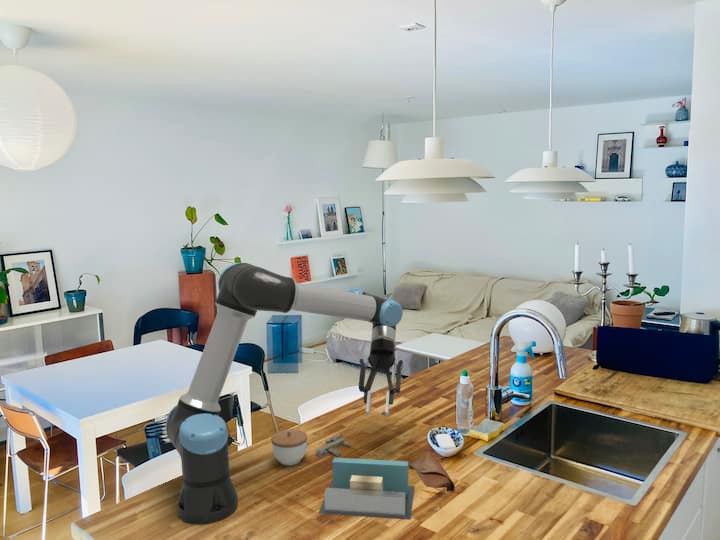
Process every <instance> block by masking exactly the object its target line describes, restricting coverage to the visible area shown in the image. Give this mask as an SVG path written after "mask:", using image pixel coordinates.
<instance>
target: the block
mask: <svg viewBox="0 0 720 540" xmlns="http://www.w3.org/2000/svg"><path fill="white" fill-rule="evenodd" d="M350 489H357V490H373V491H383V477H375V476H357V475H352V476H351V479H350Z"/></svg>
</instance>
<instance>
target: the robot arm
mask: <svg viewBox="0 0 720 540" xmlns="http://www.w3.org/2000/svg"><path fill="white" fill-rule="evenodd" d="M217 283H218V284H217V286H218V292H219V293H218V295H217V298H216V300H215V303H214V304H215V306H216V308H217V313H216V316H215V318H214V321H213V323H212V327H211V330H210V332H209V335H208V337H207V340H206V343H205V345H204V348H203V351H202V354H201V356H200V359H199V361H198V364H197V366H196V370H195V373H194V376H193V378H192V380H191V382H190V384H189V388H188V390H187V392H186V393H183V394H182V395H180V397H179V399H178V401H177V405H176V406H173V407H172V408H171V410H170V411H169V412H168V414H167V416H166V420H165V430H166V435H167V438H168V439H169V441H170V443H171V444H172V445H173V446H174V448H175V450H176V451H177V453H178V455H179V456H180V459H181V473H182V485H181V489H180V494H179V497H178V501H177V515H178V517H179V519H180V520H181V521H183V522H185V523H189V524H194V525H203V524H205V525H206V524H212V523H215V522H219V521H221V520H224V519H226V518H227V517H230V516H231V515H232V514H233V513H234V512H235V511H236V510H237V508H238V505H239V498H238V497H239V496H238V492H237V490H236V488H235V485H234V483H233V480H232V479H231V475H230V461H229V459H230V458H229V446H228V445H229V442H228V440H229V439H228V437H229V433H228V429H227V424H226V421H225V420H224V419H223V417H221V416H219V415H220V413H221V411H222V408H221V405H220V404H219V399H220V396H221V393H222V392H223V388H224V385H225V384H226V381H227V378H228V374H229V373H230V371H231V367H232V364H233V361H234V359H235V356H236V353H237V350H238V348H239V344H240V342H241V339H242V337H243V334H244V332H245V329H246V327H247V324H248V321H249V320H251V319H254V318H255V317H256V315H257V312H258V311H259V312H261V311H262V312H275V313H276V312H277V313H282V314H283V313H284V314H288V313H289V312H291V311H296V312H302V313H309V314H316V315H322V316H330V317H336V318H344V319H348V320H349V319H350V320H356V321H362V322H363V321H364V322H368V323H371V324H372V330H371V343H370V351H369V356H368V357H367V358H366V359H363V358H360V359H359V364H360V370H359V371H360V372H359V379H358V390H359V392H361V393H363V403H364V404H366V406H365V407H366V408H365V412H366V413H365V414H366V416H370V414H371V403H372V390H371V389H372V386H373V383H374V380H375V378H376V375H377V374H378V372H382V373H385V375H386V381H387V384H388V391H386V398H385V417H389V415H390V405H393V404H394V397H395V396H394V395H395V394H400V393H401V385H402V383H401V381H402V380H401V379H402V369H403V367H404V361H403V360H402V359H400V360H398V359H396V357H395V352H396V349H395V348H396V345H395V344H396V335H397V334H396V333H397V331H396V330H397V325H398V324H399V323H400V322H401V321H402V318H403V307H402V306H401V304H400V303H399V302H398V301H395V300H394V299H392V298H388V297H380V296H377V295H374V294H370V293H368V292H365V291H364V290H363V289H360V288H358V287H352V288H350V289H348V290H347V291H345V290H344V291H343V290H339V289H333V288H328V287H323V286H318V285H312V284H306V283H301V282H297V281H296V279H294V277H289V276H284V275H280V274H278V273H275V272H273V271H270V270H268V269H265V268H263V267H260V266H256V265H254V264H252V263H247V262H236V263H232V264H230V265H228V266H226V268H225V269H223V271H221V274H220V275H219V278H218V282H217ZM368 364H369V365H370V367H371V368H370V372H369V375H368V377H367V381H366V383H365V380H366V379H365V378H366V368H367V367H368ZM393 365H395V368H396V371H395V372H396V373H395V374H396V376H395V386H393V382H392V376H391V372H390V369H391V368H392V367H393Z"/></svg>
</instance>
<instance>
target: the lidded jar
mask: <svg viewBox="0 0 720 540" xmlns="http://www.w3.org/2000/svg"><path fill="white" fill-rule="evenodd" d="M270 438H271V439H270V440H271V441H270V442H271V449H272V452H273V453H272V454H273V456H274V457H275V458H276V460H277V461H278V462H280V464H281V465H283V466H294V465H298V464H299V463H300V462H301V460H302V459H303V458H304V456H305V454H306V452H307V448H308V435H307V433H306V432H305V431H303V430H300V429H293V428H292V429H284V430H280V431H277V432H274V434H273V435H272V436H271V437H270Z"/></svg>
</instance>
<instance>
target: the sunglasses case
mask: <svg viewBox="0 0 720 540" xmlns="http://www.w3.org/2000/svg"><path fill="white" fill-rule="evenodd" d="M408 468H409V469H411V470H414V471H415V472H416V474H417V475H418V477H419V479H420V480H421V482H422V483H423V484H424V486H425V487H427V488H432V489H441V488H442V489H443V488H446V492H454V491H455V489H456V488H455V487H456V486H455V483H454V482H453V480H452V479H451V476H450V475H449V473H448V472H447V471H446V470H445V468H444V467H443V466H442V464H441V463H440V462H439V460H438V459H437V458H436V457H435V456H434V454H433V453H432V452H431V451H429V453H426V455H424V456H422V457H420V458H418V459H417V460H415V461H413V462H411V463H410V464H408Z"/></svg>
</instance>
